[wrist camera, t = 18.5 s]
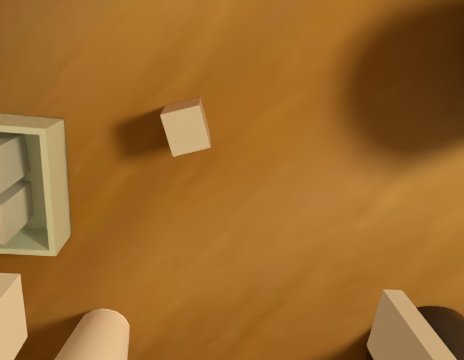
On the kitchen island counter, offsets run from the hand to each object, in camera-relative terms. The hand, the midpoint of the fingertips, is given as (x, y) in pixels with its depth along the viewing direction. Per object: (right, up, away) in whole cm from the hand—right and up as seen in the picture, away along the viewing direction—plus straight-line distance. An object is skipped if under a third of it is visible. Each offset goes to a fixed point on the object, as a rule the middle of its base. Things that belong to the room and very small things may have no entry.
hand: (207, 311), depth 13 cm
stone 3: (-4, +11, +24) cm, 27 cm away
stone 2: (-22, +3, +25) cm, 34 cm away
